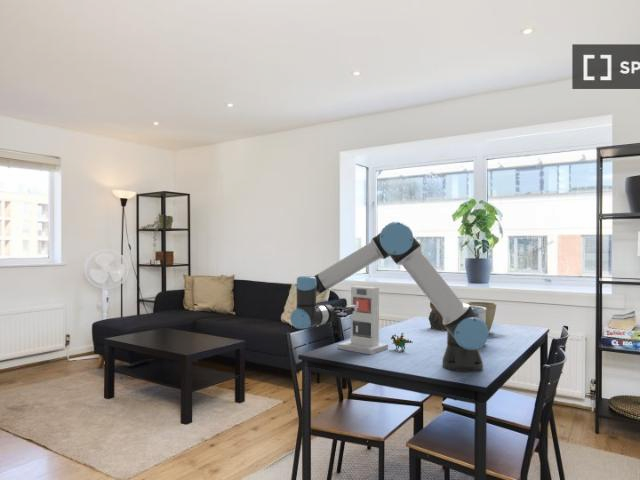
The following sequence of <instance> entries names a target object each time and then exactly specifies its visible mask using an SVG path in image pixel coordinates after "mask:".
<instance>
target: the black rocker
mask: <svg viewBox="0 0 640 480" xmlns="http://www.w3.org/2000/svg"><path fill="white" fill-rule="evenodd" d="M353 334H357V335H367V336H370V335H371V324H363V323H353Z"/></svg>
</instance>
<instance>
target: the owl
mask: <svg viewBox="0 0 640 480" xmlns="http://www.w3.org/2000/svg"><path fill="white" fill-rule="evenodd" d="M429 307H430V309H431V311H430V312H429V316H428V321H429V324H430V328H431V329H436V330H440V331H446V332H447V328H446V327H445V326H444V324H443V316H442V315H441V314H440V313H439V311H438V310H437V309H436V308H435V306H434V305H433V304H432V302H431V301H430V303H429Z"/></svg>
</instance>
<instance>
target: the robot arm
mask: <svg viewBox="0 0 640 480" xmlns="http://www.w3.org/2000/svg"><path fill="white" fill-rule="evenodd" d="M422 247H423V246H422V243H420V241H419V240H418V238H417V237H416V236H415V235H414V233H413V231H412V229H411V228H410V226H408V225H407V224H405V223H404V222H402V221H393V222H390V223H388V224H386V225H385V226H384V227H383V228H382V230H380V233H378V234H377V235H375V236H373V237H372V238H371V240H370V242H369V243H367V244H365V245H363V246H362V247H360V248H358V249H357V250H356V251H354V252H352V253H351V254H349V255H347V256H345V257H344V258H342V259H340V260H339V261H337V262H336V263H334V264H332V265H331V266H329V267H327V268H325V269H323V270H322V271H320V272H319V273H317V274H315V275H313V276H312V275H301V276H298V277H296V286H295V287H296V306H295V307H296V308H295V309H294V310H292V311H291V315H290V317H289V318H290V323H291V325H292V326H293V327H294V328H295V329H299V330H301V329H308V328H312V327H319V326H321V325H326V324H330V323H332V322H333V321H334V319H337V318H340V317H343V318H346V317H348V316H351V314H353V312H357V305H351V304H350V305H348V306H347V305H345V304H343V305H342V306H334V307H333V306H332V305H331V304H327V303H326V304H319V305H317V296H320V295H321V294H323V293H324V292H326V291H327V290H329V289H331V288H332V287H334V286H336V285H337V284H339V283H341V282H343V281H345V280H347V279H348V278H350V277H351V276H353V275H355V274H356V273H359V272H360V271H361V270H363V269H365V268H366V267H369V266H370V265H372V264H373V263H376V262H377V261H379V260H380V259H382V260H386V259H387V258H388V257H390V258H391V259H392V261H393V262H394V264H395V265H398V266H402V267H403V268H404V269H405V271H406V273H408V274H409V276H410V277H411V279H413V281H414V282H415V283H416V285H417V287H419V288H420V290H421V291H422V292H423V294H424V295H425V296H426V297H427V298H428V300H429V301H430V302H432V304H433V305H434V306H435V308H436V309H437V310H438V311H439V313H440V314H441V315H442V316H443V324H444V326H445V327H446V328H447V331H446V349H445V351H444V354H443V358H442V367H444V368H445V369H448V370H451V371H458V372H465V373H466V372H468V373H469V372H473V373H474V372H479V371H483V369H484V361H483V358H482V355H481V353H480V349H481V348H482V347H483V346H484V345H486V343H487V342H488V339H489V334H490V331H488V328H487V325H486V324H485V322H484V321H482V320H481V319H480V318H479V317H478V316H479V314H478V310H477V309H476V308H471V307H470V305H468V303H464V302H462V301H461V300H460V298H459V297H458V295H456V293H455V292H454V290H453V289H452V288H451V287H450V285H449V284H448V283H447V282H446V280H445V279H443V277H442V276H441V274H440V273H439V272H438V270H437V269H436V268H435V267H434V265H433V264H432V263H431V262H430V261H429V259H428V258H427V257H426V256H425V254H424V253H423V251H422Z"/></svg>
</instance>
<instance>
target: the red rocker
mask: <svg viewBox="0 0 640 480" xmlns="http://www.w3.org/2000/svg"><path fill="white" fill-rule="evenodd" d="M355 305H357V310H360V311H366V312H369V300H364V299H355Z"/></svg>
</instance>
